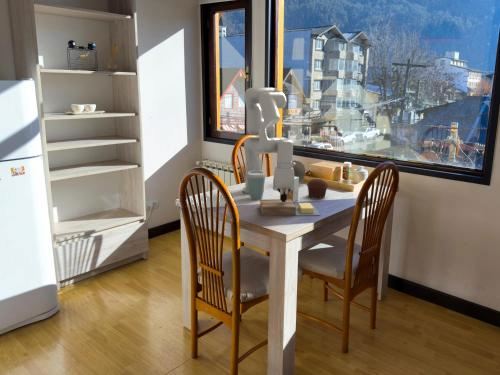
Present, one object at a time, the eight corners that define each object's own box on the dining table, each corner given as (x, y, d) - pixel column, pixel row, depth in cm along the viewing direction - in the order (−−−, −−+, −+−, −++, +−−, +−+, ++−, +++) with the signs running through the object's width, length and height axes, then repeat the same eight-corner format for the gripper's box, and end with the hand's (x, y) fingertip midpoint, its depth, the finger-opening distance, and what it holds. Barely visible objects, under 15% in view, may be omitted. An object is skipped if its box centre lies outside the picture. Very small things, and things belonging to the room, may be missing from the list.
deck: (260, 207, 213) (260, 199, 213) (290, 206, 215) (291, 199, 214) (262, 215, 200) (262, 207, 199) (295, 215, 201) (295, 207, 200)
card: (310, 203, 211) (310, 207, 212) (298, 203, 211) (298, 207, 212) (313, 208, 203) (313, 213, 203) (301, 208, 202) (301, 213, 203)
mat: (290, 206, 216) (290, 205, 215) (313, 205, 216) (313, 205, 216) (296, 215, 200) (296, 215, 200) (320, 215, 201) (320, 214, 201)
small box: (279, 200, 226) (280, 177, 223) (285, 197, 231) (286, 175, 228) (292, 202, 222) (293, 179, 218) (298, 200, 227) (299, 176, 223)
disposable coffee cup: (263, 201, 223) (264, 174, 219) (244, 200, 225) (244, 173, 221) (266, 196, 233) (267, 170, 229) (248, 195, 235) (248, 169, 231)
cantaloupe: (278, 183, 264) (279, 159, 261) (296, 180, 271) (297, 158, 267) (290, 188, 252) (291, 163, 249) (309, 185, 259) (310, 161, 255)
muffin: (303, 197, 232) (304, 180, 230) (310, 193, 242) (311, 176, 239) (323, 200, 227) (325, 182, 224) (330, 195, 236) (331, 178, 234)
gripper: (298, 163, 206) (296, 199, 211) (268, 163, 205) (267, 199, 209) (301, 166, 199) (299, 203, 203) (270, 166, 198) (269, 203, 202)
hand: (283, 201), depth 206 cm, fingers closed
